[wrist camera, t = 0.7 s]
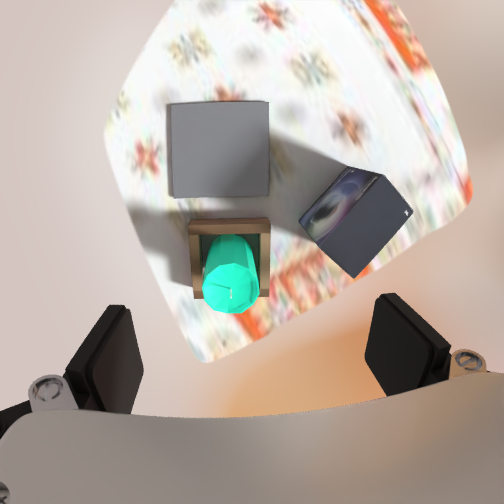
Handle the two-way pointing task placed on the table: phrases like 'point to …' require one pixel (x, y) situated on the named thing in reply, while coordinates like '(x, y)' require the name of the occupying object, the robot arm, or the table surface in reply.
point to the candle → (230, 275)
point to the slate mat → (220, 149)
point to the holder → (230, 227)
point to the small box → (356, 218)
